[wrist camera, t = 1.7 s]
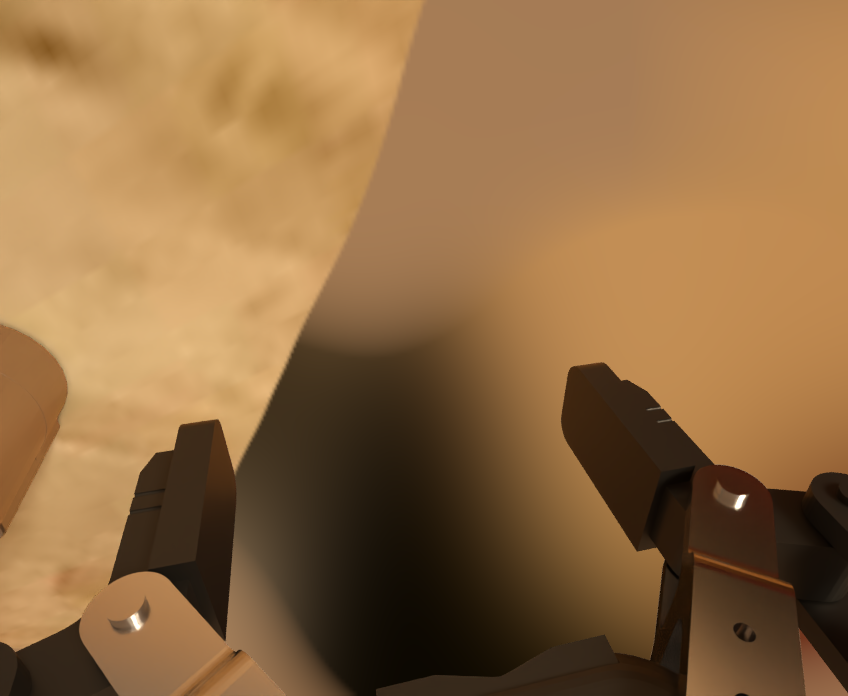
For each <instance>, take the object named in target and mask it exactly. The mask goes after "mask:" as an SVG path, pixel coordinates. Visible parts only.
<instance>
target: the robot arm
mask: <svg viewBox="0 0 848 696" xmlns="http://www.w3.org/2000/svg"><path fill="white" fill-rule="evenodd" d="M66 397H67V381H66V378H65V375H64V372H63V370H62V368H61V367H60V365H59V364H58V362H57V361H56V359H55V358H54V357H53V356H52V355H51V354H50V353H49V352H48V351H47V350H46V349H45V348H44V347H43V346H41V345H40V344H39V343H37V342H36V341H34V340H33V339H31V338H30V337H28V336H26V335H24V334H22V333H20V332H18V331H16V330H14V329H12V328H9V327H6V326H3V325H0V538H1V537H2V536H4V534H5V533H6V531H7V529H8V527H9V525H10V523H11V521H12V520H13V518H14V516H15V514H16V512H17V510H18V508H19V506H20V504H21V502H22V500H23V498H24V496H25V494H26V492H27V490H28V488H29V486H30V484H31V482H32V480H33V478H34V477H35V475H36V473H37V471H38V469H39V467H40V465H41V463H42V461H43V459H44V457H45V455H46V453H47V451H48V449H49V447H50V445H51V443H52V441H53V439H54V437H55V435H56V433H57V432H58V430H59V428H60V425H59V423H58V420H57V417H58V415H59V413H60V411H61V410H62V408H63V406H64V404H65V401H66ZM561 424H562V430H563V434H564V437H565V439H566V441H567V443H568V445H569V446H570V448H571V449H572V451H573V453H574V454H575V456H576V457H577V459H578V460H579V462H580V463H581V465H582V467H583V468H584V470H585V471H586V473H587V474H588V476H589V477H590V479H591V480H592V482H593V483H594V485H595V487H596V488H597V490H598V491H599V493H600V495H601V496H602V498H603V499H604V501H605V502H606V504H607V505H608V507H609V509H610V510H611V512H612V513H613V515H614V516H615V518H616V519H617V521H618V523H619V524H620V526H621V527H622V529H623V530H624V532H625V534H626V535H627V537H628V538H629V540H630V541H631V543H632V544H633V546H634V547H635V549H636V551H642V550H647V549H651V548H656V547H657V548H658V550H659V551H660V553H661V554H662V556H663V557H664V559H665V561H664V564H663V568H662V577H661V587H660V595H659V603H658V612H657V620H656V629H655V638H654V644H653V649H652V653H651V657H650V660H647V659H643V658H640V657H636V656H633V655H627V654H621V653H614V652H613V650H612V648H611V646H610V645H609V642H608V640H607V639H606V636H605V635H601V636H597V637H593V638H589V639H585V640H580V641H576V642H572V643H568V644H564V645H559V646H555V647H552V648H550V649H548V650H546V651H545V652H543V653H541V654H539V655H538V656H536V657H535V658H533V659H531V660H529V661H528V662H526V663H524V664H522V665H521V666H519V667H517V668H515V669H514V670H512V671H510V672H509V673H507V674H505V675H503V676H500V677H473V676H446V675H445V676H444V675H434V676H430V677H426V678H421V679H417V680H413V681H409V682H405V683H400V684H396V685H392V686H388V687H384V688H380V689H376V693H377V696H806V692H805V683H804V673H803V664H802V655H801V645H800V636H799V629H800V630H801V631H802V633H803V634H804V635H805V636H806V638H807V639H808V641H809V642H810V643H811V644H812V646H813V647H814V648H815V650H816V651H817V652H818V654H819V655H820V656H821V658H822V659H823V660H824V662H825V663H826V664H827V666H828V667H829V668H830V670H831V671H832V672H833V674H834V675H835V676H836V678H837V679H838V680H839V682H840V683H841V684H842V686H843V687H844V688H845V690H846V691H847V692H848V475H847V474H842V473H834V472H829V473H823V474H819V475H817V476H816V477H815V478H813V480H812V482H811V484H810V486H809V488H808V490H807V492H803V491H791V490H779V489H767V488H766V487H765V486H764V485H763V484H762V483H761V482H760V481H759V480H758V479H757V478H755V477H754V476H752V475H751V474H749V473H747V472H745V471H743V470H740V469H738V468H735V467H731V466H726V465H714V464H713V462H712V461H711V460H710V459H709V458H708V457H707V456H706V455H705V454H704V453H703V452H702V450H701V449H700V448H699V447H698V446H697V445H696V444H695V443H694V442H693V441H692V440H691V439H690V437H688V435H687V434H686V433H685V432H684V431H683V430H682V429H681V428H680V427H679V426H678V424H677V423H676V422H675V421H672V420H671V417H670V416H669V415H668V414H667V413H666V411H665V410H664V409H661V408H660V405H659V404H658V403H657V402H656V401H655V400H654V399H653V397H652V396H651V395H650V394H649V393H648V392H647V391H645V390H644V389H642V388H640V387H638V386H637V385H635V384H633V383H631V382H630V381H628V380H623V381H621V380H620V379H619V378H618V377H617V376H616V375H615V373H614V372H613V371H612V370H611V369H610V368H609V367H608V366H607V365H606V364H605V363H602V362H601V363H594V364H588V365H580V366H574V367H571V368H570V370H569V372H568V377H567V384H566V390H565V396H564V403H563V409H562V417H561ZM134 494H135V498H133V500H132V504H131V507H130V515H128V518H127V522H126V525H125V529H124V532H123V536H122V539H121V543H120V546H119V550H118V554H117V557H116V561H115V564H114V568H113V571H112V575H111V579H110V581H109V584H108V586H106V587H105V588H104V589H102V590H101V591H100V592H99V593H98V594H97V595H96V596H95V597H94V598H93V599H92V601H91V602H90V603H89V604H88V606H87V608H86V609H85V611H84V613H83V615H82V618H80V619H79V620H78V621H77V622H75V623H74V624H72V625H70V626H69V627H67V628H65V629H64V630H62V631H60V632H58V633H56V634H54V635H51V636H49V637H47V638H45V639H43V640H41V641H39V642H36V643H34V644H32V645H30V646H28V647H26V648H24V649H21V650H19V651H17V652H15V651H14V650H13V649H12V648H11V647H10V646H9V645H7V644H4V643H2V642H0V696H286V695H285V694H284V693H283V692H282V691H281V689H280V688H279V687H278V686H277V685H276V684H275V683H274V682H273V681H272V680H271V678H270V677H269V676H268V675H267V674H266V673H265V672H264V671H263V670H262V669H261V668H260V667H259V665H258V664H257V663H256V662H255V661H254V660H253V659H252V658H251V657H250V656H249V655H248V654H246V653H245V652H244V651H242V650H238V651H237V652H235V651H233V650H232V649H231V648H230V647H229V646H228V645H227V644H226V643H225V642H224V641H225V640H226V627H227V614H228V601H229V588H230V576H231V563H232V550H233V549H232V548H233V537H234V524H235V511H236V481H235V475H234V470H233V467H232V463H231V459H230V456H229V452H228V448H227V445H226V441H225V438H224V434H223V430H222V427H221V424H220V422H219V420H218V419H216V420H209V421H202V422H195V423H189V424H182V425H180V427H179V430H178V435H177V439H176V444H175V448H174V450H172V451H166V452H159V453H156V454H155V455H154V456H153V457H152V459H151V460H150V461H149V462H148V464H147V465H146V466H145V467H144V469H143V470H142V471H141V472H140V475H139V479H138V482H137V486H136V490H135V493H134Z"/></svg>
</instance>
